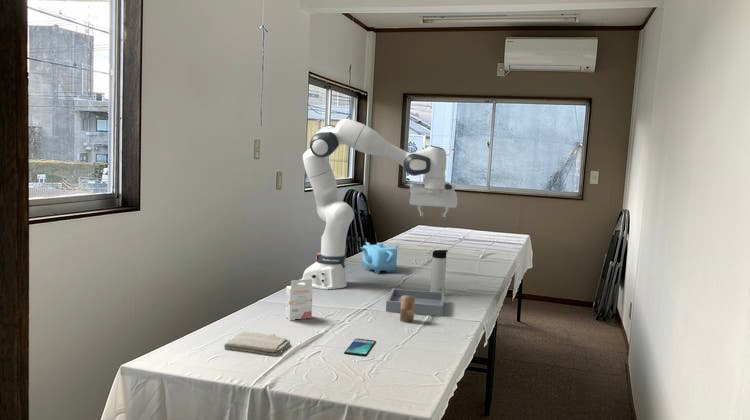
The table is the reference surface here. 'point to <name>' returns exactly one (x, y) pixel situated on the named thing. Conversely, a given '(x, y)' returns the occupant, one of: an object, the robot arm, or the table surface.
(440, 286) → the travel mug
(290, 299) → the ink cartridge box
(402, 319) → the tan rounded cylinder
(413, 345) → the table surface
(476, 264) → the table surface
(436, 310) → the tray
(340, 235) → the robot arm
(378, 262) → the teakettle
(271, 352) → the washcloth
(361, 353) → the smartphone
